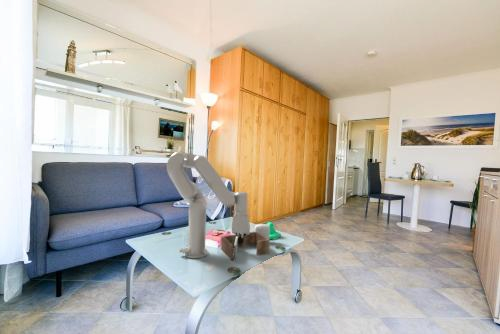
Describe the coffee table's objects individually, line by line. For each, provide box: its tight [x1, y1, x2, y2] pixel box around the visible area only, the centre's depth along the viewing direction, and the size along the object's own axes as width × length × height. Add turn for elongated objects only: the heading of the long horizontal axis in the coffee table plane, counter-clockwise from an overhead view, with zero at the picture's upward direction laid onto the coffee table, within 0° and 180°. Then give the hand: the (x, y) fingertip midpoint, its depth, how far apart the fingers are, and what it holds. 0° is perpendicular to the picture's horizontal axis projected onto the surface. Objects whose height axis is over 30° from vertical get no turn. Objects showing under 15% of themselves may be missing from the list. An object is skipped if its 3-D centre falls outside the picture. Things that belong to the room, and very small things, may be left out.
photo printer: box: [254, 223, 270, 240], centre depth 145 cm, size 10×4×12 cm, turn 98°
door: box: [233, 236, 239, 260], centre depth 125 cm, size 15×2×8 cm, turn 179°
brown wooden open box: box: [220, 230, 270, 261], centre depth 130 cm, size 24×16×8 cm, turn 119°
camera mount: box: [266, 221, 282, 240], centre depth 156 cm, size 12×8×10 cm, turn 124°
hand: (240, 243), depth 128 cm, fingers closed
